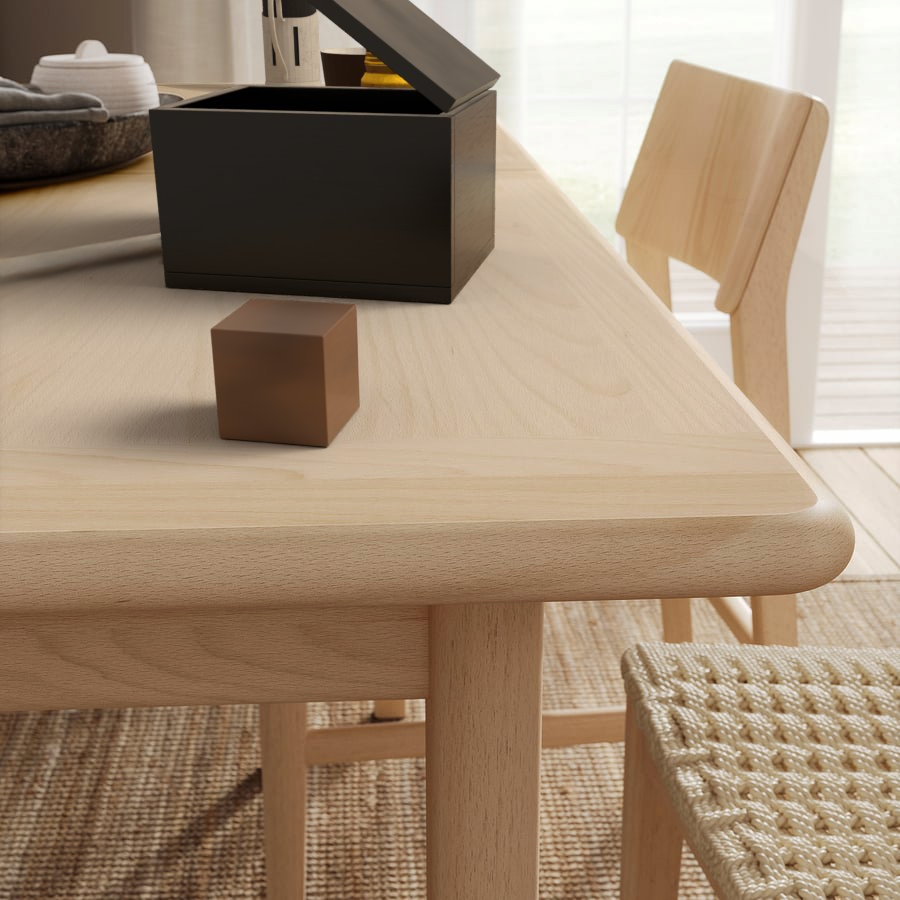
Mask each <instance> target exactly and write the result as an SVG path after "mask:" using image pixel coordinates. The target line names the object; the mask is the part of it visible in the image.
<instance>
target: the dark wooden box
mask: <svg viewBox="0 0 900 900" xmlns="http://www.w3.org/2000/svg"><path fill="white" fill-rule="evenodd" d="M497 97H498V90H497V89H488V90H487V91H485V92H483V93H481V94H480V95H478V96H476V97H474V98H473V99H471V100H469V101H467V102H466V103H464V104H462V105H460V106H459V107H457V108H455V109H453V110H452V111H450V112H448V113H447V114H446V113H444V112H443V111H442V110H441V109H439V108H438V107H437V106H436V105H434V104H433V103H432V102H431V101H429V100H428V99H427V98H426V97H425V96H423V95H422V94H421V93H420V92H418V91H417V90H416V89H415V88H378V87H332V86H325V85H323V86H285V85H265V84H240V85H235V86H232V87H227V88H224V89H220V90H216V91H212V92H209V93H205V94H202V95H198V96H194V97H190V98H186V99H182V100H178V101H175V102H171V103H167V104H164V105H160V106H157V107H153V108H150V109H148V119H149V129H150V131H149V132H150V142H151V150H152V160H153V161H152V162H153V171H154V182H155V193H156V203H157V211H158V224H159V232H160V244H161V255H162V263H163V264H162V265H163V271H164V273H163V275H164V286H165V288H171V289H189V290H204V291H205V290H206V291H207V290H208V291H221V292H222V291H224V292H240V293H241V292H242V293H258V294H274V295H275V294H276V295H294V296H311V297H329V298H347V299H361V300H362V299H363V300H377V301H378V300H380V301H397V302H413V303H414V302H415V303H431V304H449V305H450V304H452V303H453V302H454V301H455V299H456V298H457V296H458V295H459V294H460V293H461V291H462V290H463V289H464V287H466V285H467V284H468V283H469V282H470V280H471V278H472V277H473V276H474V274H475V273H476V272H477V271H478V269H479V268H481V265H482V264H483V263H484V261H486V260H487V258H488V257H489V255H490V254H491V252H492V251H493V250H494V249H495V242H496V241H495V240H496V239H495V238H496V236H495V233H496V175H497V174H496V173H497V171H496V170H497V160H496V159H497V106H498V105H497V104H498V102H497V101H498V100H497V99H498V98H497Z"/></svg>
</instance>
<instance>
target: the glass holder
mask: <svg viewBox="0 0 900 900" xmlns="http://www.w3.org/2000/svg"><path fill="white" fill-rule="evenodd" d="M261 5H262V11H261V25H262V27H261V28H262V42H263V43H262V44H263V61H264V77H265V81H264V85H285V86H324V85H323V83H322V79H321V78H322V77H321V76H322V75H321V54H320V51H321V50H320V31H319V30H320V29H319V11H318V10H317V9H316V8H314V7H313V6H312V5H311V4H310V3H308V2H307V1H306V0H261Z"/></svg>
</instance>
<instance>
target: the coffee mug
mask: <svg viewBox="0 0 900 900" xmlns="http://www.w3.org/2000/svg"><path fill="white" fill-rule="evenodd" d="M319 51H320V62H321V67H322V72H323V73H322V74H323V81H324V86H332V87H361V79H362V77H363V76H364V74H365V73H366V72H367V70H366V66H365V57H366V49H365V48H364V47H363V46H356V47H335V48H326V49H320V50H319Z"/></svg>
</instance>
